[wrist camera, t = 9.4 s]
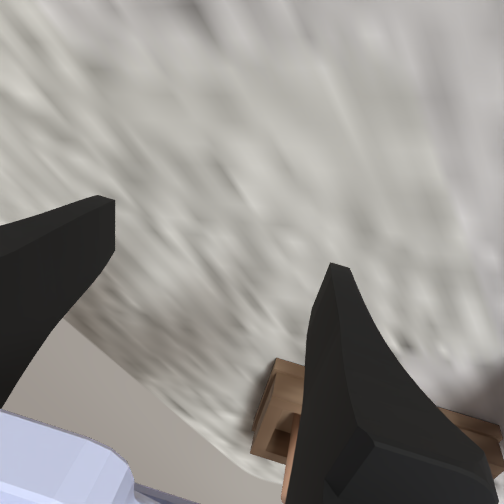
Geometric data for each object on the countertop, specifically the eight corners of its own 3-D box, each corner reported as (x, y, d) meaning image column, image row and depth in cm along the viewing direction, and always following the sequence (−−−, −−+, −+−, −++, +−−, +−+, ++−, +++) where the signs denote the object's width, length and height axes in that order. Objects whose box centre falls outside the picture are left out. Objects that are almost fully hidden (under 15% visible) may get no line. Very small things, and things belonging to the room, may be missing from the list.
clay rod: (335, 409, 29) (330, 495, 24) (332, 433, 31) (327, 518, 26) (293, 402, 30) (280, 485, 25) (293, 426, 32) (281, 508, 27)
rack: (498, 425, 28) (512, 467, 26) (444, 479, 33) (451, 519, 30) (276, 357, 29) (269, 392, 27) (253, 419, 34) (246, 454, 31)
